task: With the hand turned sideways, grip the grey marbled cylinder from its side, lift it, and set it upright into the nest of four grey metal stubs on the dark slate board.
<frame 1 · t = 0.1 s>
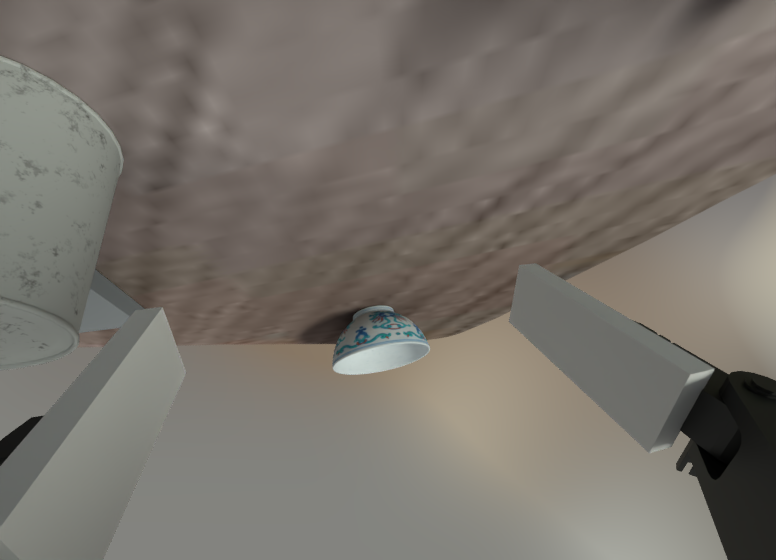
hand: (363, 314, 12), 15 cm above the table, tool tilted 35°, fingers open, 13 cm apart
chinaware: (373, 313, 53), on the table
grey marbled cylinder: (17, 130, 18), on the table
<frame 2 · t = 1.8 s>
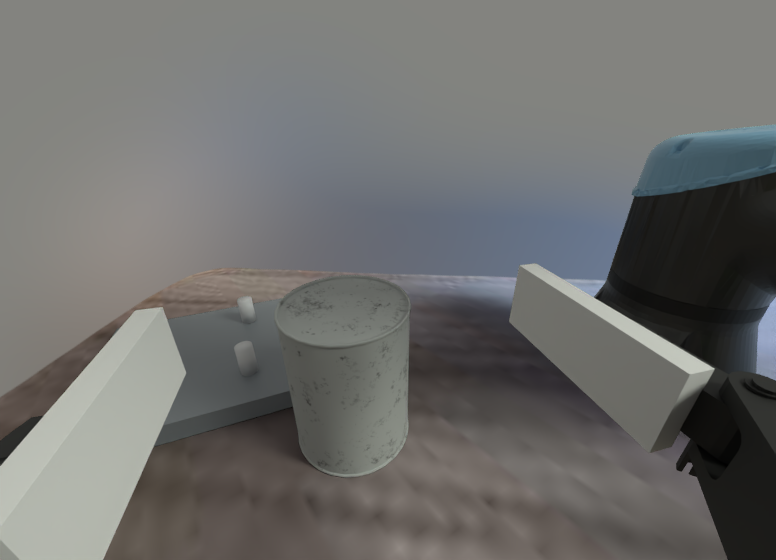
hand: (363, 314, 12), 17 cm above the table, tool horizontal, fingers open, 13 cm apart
grey marbled cylinder: (354, 425, 29), on the table
stub board: (206, 367, 35), on the table
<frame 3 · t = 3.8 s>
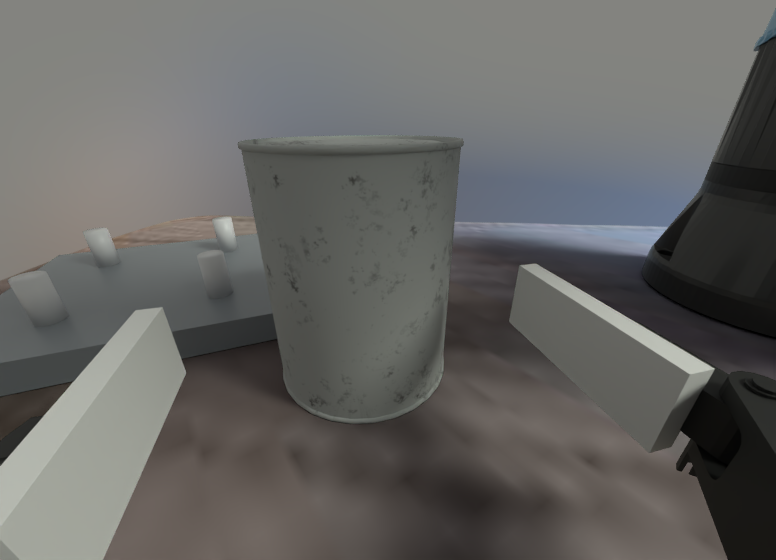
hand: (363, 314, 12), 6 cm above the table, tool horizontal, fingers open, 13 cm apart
grey marbled cylinder: (364, 361, 20), on the table
stub board: (167, 298, 27), on the table
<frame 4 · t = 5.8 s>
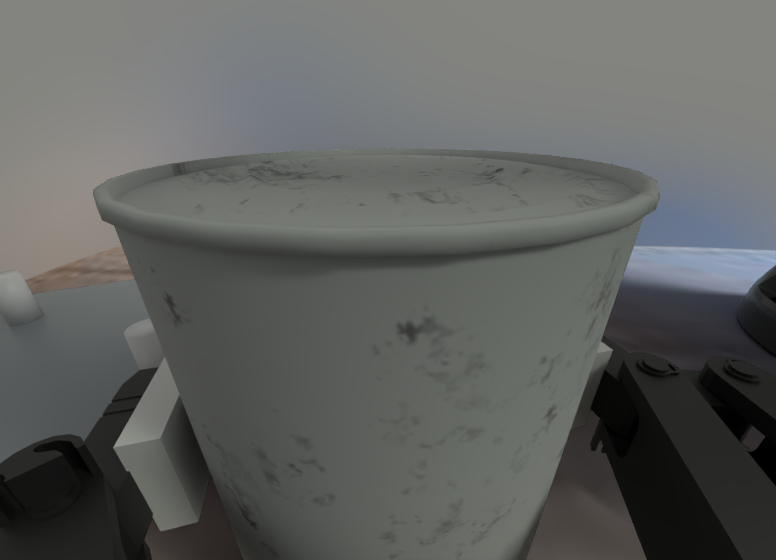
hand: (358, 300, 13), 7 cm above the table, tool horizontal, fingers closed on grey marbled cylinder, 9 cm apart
grey marbled cylinder: (386, 509, 12), on the table, touching gripper
stub board: (100, 372, 19), on the table
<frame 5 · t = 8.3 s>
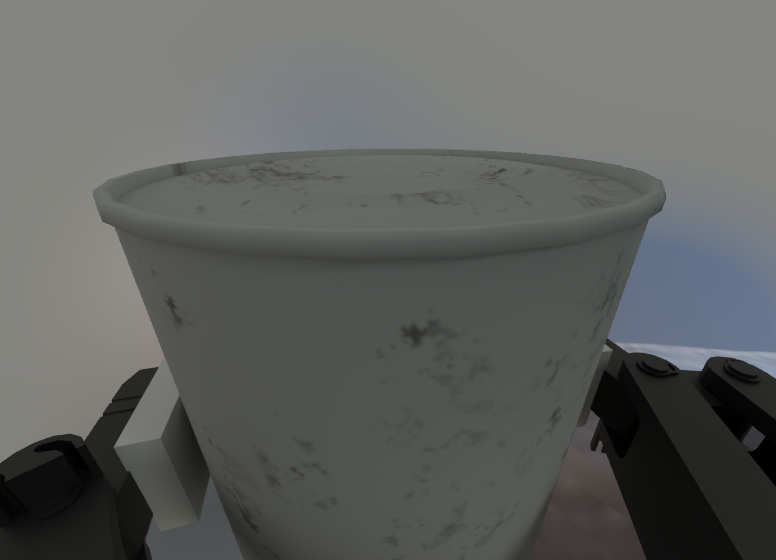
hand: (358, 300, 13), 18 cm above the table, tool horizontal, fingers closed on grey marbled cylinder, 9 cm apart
grey marbled cylinder: (387, 511, 12), point 11 cm above the table, touching gripper
stub board: (322, 551, 21), on the table
when the fingers open (10 cm above the table, at t = 10.7 s): grey marbled cylinder drops 1 cm, resting on stub board.
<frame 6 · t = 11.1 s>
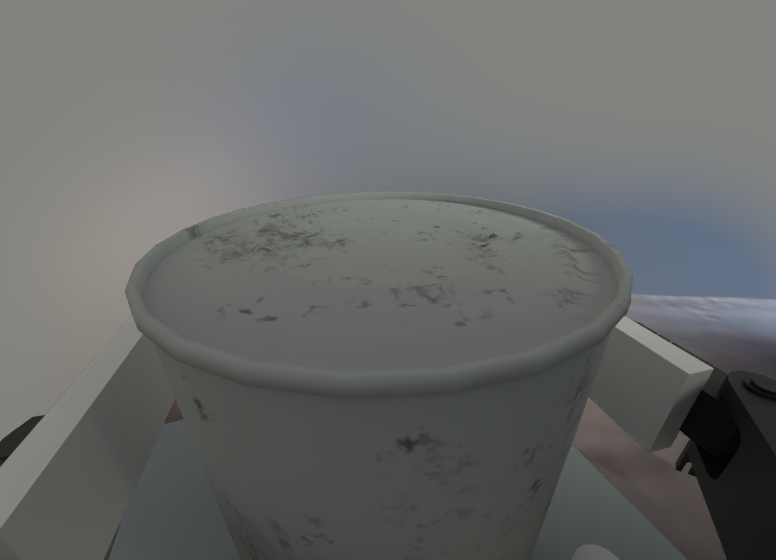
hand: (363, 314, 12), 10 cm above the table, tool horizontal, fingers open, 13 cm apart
grey marbled cylinder: (387, 533, 13), point 2 cm above the table, touching stub board
stub board: (386, 554, 14), on the table
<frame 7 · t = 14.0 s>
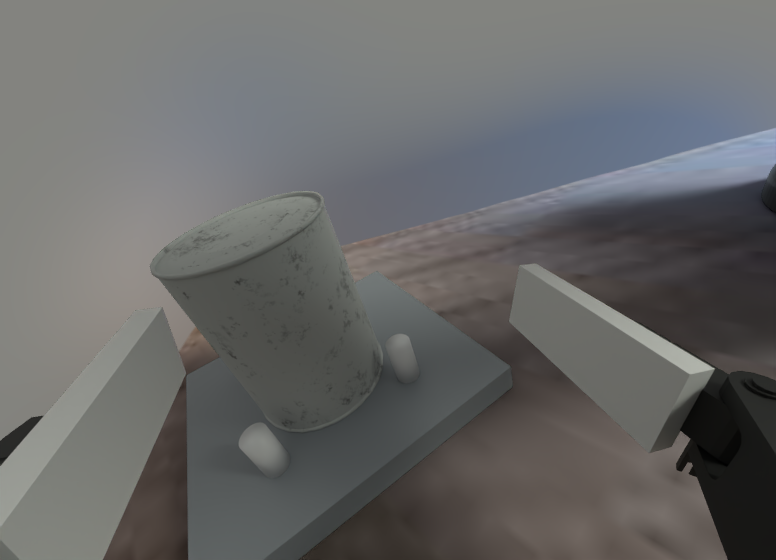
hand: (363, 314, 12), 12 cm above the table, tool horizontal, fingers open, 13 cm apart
grey marbled cylinder: (323, 374, 24), point 2 cm above the table, touching stub board
stub board: (331, 388, 25), on the table
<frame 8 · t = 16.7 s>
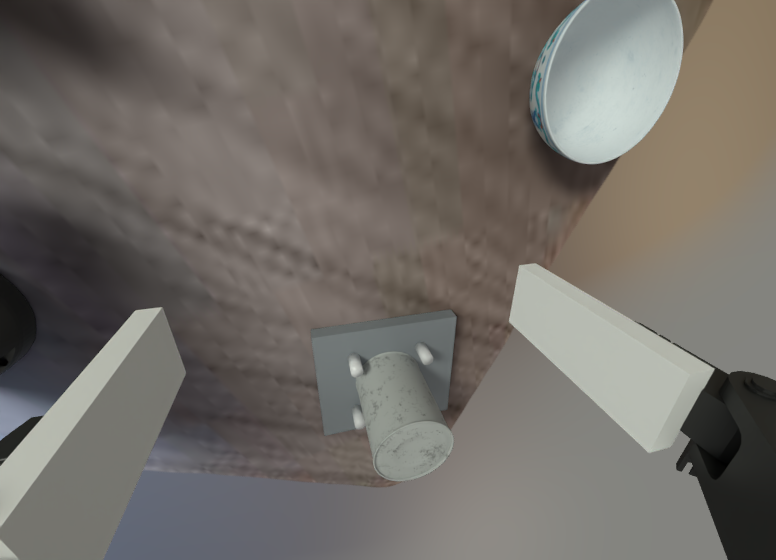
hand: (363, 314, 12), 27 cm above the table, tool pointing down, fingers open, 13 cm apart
chinaware: (556, 88, 37), on the table
grey marbled cylinder: (387, 376, 47), point 2 cm above the table, touching stub board
stub board: (384, 369, 49), on the table
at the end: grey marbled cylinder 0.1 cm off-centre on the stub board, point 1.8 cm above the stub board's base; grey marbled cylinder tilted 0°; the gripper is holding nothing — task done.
